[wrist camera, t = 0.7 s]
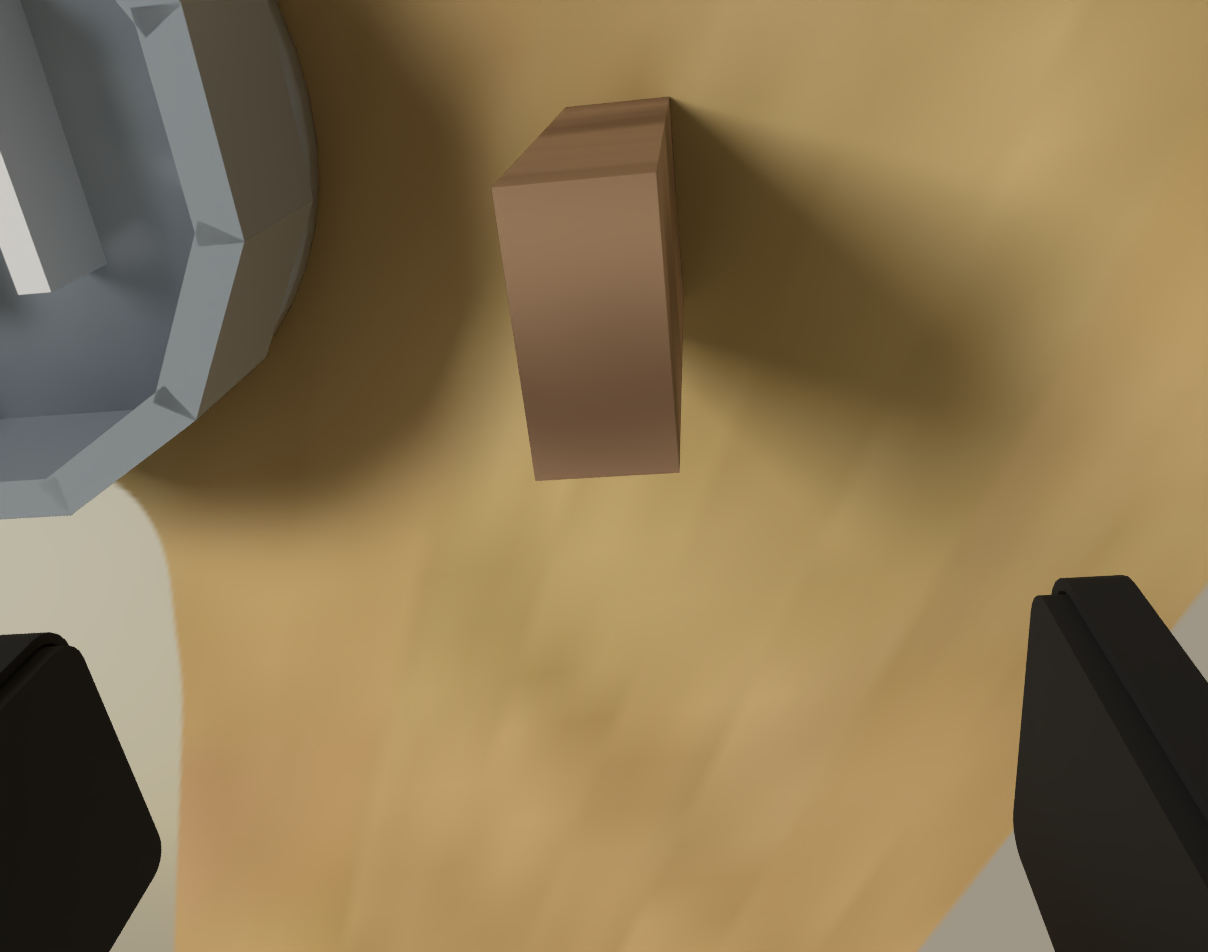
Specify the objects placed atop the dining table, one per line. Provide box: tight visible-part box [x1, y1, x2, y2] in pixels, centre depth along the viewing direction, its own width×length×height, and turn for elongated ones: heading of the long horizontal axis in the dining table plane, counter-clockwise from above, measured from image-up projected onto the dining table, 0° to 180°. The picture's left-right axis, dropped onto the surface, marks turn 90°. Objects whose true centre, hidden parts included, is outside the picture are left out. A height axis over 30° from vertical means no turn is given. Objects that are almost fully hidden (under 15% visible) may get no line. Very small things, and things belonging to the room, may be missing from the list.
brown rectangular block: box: [491, 97, 684, 481], centre depth 25 cm, size 6×3×12 cm, turn 6°
